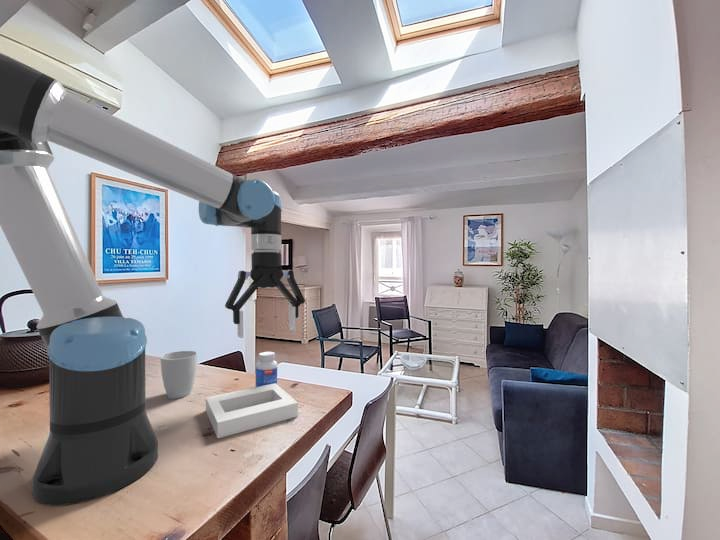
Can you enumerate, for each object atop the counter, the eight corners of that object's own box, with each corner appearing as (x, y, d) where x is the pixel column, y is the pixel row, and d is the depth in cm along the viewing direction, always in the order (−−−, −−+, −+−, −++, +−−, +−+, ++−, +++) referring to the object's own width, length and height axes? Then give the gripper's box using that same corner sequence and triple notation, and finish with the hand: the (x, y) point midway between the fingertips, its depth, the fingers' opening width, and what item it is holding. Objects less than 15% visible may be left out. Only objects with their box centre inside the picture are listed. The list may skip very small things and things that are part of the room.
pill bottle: (264, 396, 79) (264, 357, 79) (251, 391, 83) (251, 354, 82) (281, 390, 84) (281, 352, 84) (268, 385, 87) (268, 349, 87)
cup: (203, 388, 84) (203, 351, 84) (184, 401, 76) (184, 359, 76) (175, 387, 85) (175, 350, 85) (152, 400, 77) (152, 359, 77)
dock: (217, 438, 60) (217, 422, 60) (201, 401, 76) (201, 389, 76) (297, 416, 69) (297, 402, 69) (267, 387, 85) (267, 376, 85)
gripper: (217, 250, 73) (218, 342, 73) (316, 252, 87) (317, 329, 87) (211, 251, 79) (213, 337, 79) (305, 253, 93) (305, 325, 93)
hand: (267, 333), depth 83 cm, fingers open, 13 cm apart
